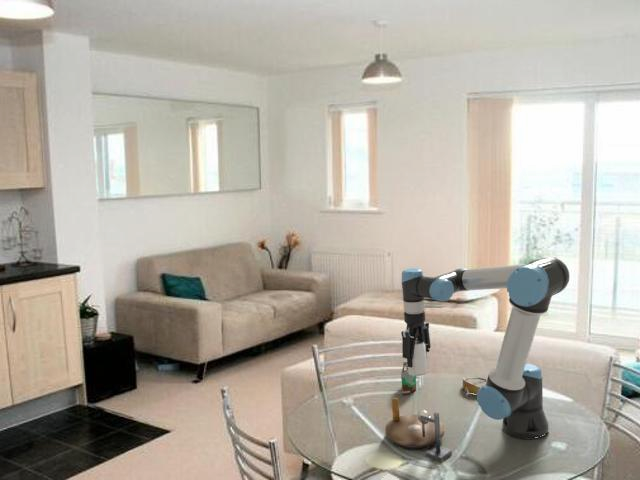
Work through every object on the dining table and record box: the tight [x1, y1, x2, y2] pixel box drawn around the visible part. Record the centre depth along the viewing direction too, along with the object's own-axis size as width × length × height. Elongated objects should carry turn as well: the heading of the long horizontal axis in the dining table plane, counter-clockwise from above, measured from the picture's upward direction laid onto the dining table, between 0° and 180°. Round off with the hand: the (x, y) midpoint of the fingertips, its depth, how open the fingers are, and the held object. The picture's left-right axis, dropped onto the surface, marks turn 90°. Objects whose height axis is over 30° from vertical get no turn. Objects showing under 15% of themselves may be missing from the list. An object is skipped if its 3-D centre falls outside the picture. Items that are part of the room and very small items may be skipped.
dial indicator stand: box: [417, 409, 453, 463], centre depth 211 cm, size 10×6×14 cm, turn 46°
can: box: [413, 339, 428, 377], centre depth 237 cm, size 6×6×12 cm
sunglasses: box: [462, 377, 487, 394], centre depth 259 cm, size 14×15×5 cm
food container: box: [400, 361, 417, 396], centre depth 262 cm, size 12×6×10 cm, turn 168°
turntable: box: [384, 397, 445, 446], centre depth 222 cm, size 20×20×10 cm
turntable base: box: [391, 441, 436, 451], centre depth 223 cm, size 16×16×2 cm
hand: (418, 371), depth 238 cm, fingers closed on can, 6 cm apart
